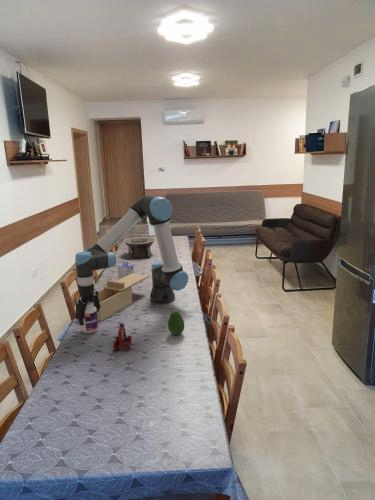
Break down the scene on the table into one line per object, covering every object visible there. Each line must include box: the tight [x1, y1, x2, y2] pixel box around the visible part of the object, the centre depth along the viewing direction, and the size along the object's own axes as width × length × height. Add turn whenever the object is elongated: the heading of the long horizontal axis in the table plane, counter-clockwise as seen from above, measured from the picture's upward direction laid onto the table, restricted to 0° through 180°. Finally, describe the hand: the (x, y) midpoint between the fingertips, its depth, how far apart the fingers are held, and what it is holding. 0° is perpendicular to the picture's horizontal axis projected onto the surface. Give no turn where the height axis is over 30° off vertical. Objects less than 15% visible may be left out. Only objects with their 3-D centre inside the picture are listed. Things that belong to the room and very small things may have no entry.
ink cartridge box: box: [117, 261, 135, 280], centre depth 250 cm, size 10×6×14 cm, turn 85°
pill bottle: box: [81, 302, 99, 334], centre depth 181 cm, size 8×8×14 cm
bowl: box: [123, 236, 156, 259], centre depth 320 cm, size 27×26×15 cm
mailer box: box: [97, 286, 133, 322], centre depth 206 cm, size 13×28×10 cm, turn 153°
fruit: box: [167, 310, 185, 336], centre depth 175 cm, size 8×8×12 cm
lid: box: [103, 273, 150, 291], centre depth 221 cm, size 13×28×4 cm, turn 153°
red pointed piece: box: [113, 322, 133, 352], centre depth 165 cm, size 7×12×10 cm, turn 2°
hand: (89, 327), depth 182 cm, fingers closed on pill bottle, 8 cm apart
